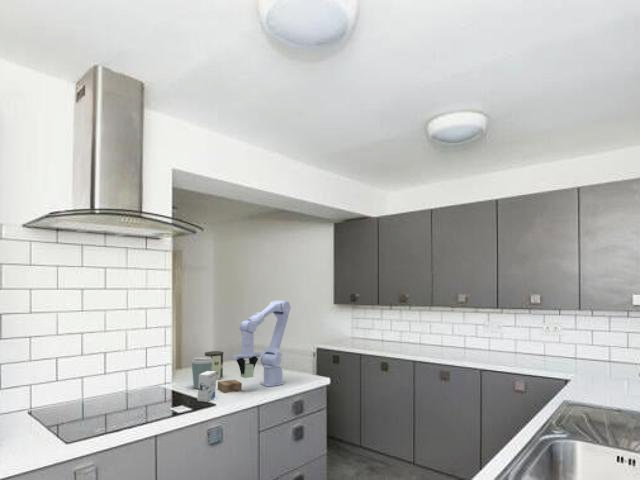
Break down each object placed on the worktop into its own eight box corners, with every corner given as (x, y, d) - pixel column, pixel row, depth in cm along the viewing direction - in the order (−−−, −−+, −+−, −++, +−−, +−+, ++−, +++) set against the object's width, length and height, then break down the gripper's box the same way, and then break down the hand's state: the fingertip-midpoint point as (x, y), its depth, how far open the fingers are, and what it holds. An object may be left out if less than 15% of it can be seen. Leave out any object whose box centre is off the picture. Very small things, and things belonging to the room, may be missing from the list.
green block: (248, 375, 212) (248, 362, 213) (253, 376, 209) (253, 364, 210) (240, 376, 209) (240, 363, 210) (245, 378, 206) (245, 365, 207)
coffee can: (213, 375, 243) (214, 350, 245) (226, 377, 238) (227, 352, 239) (199, 379, 235) (200, 352, 236) (212, 381, 229) (213, 354, 231)
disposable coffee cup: (196, 384, 221) (197, 355, 223) (215, 385, 219) (216, 355, 221) (186, 389, 211) (187, 358, 213) (206, 390, 209) (207, 359, 210)
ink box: (206, 396, 198) (206, 370, 200) (216, 397, 197) (216, 371, 199) (197, 401, 190) (198, 374, 191) (207, 401, 189) (208, 374, 190)
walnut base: (234, 387, 217) (234, 379, 217) (241, 391, 209) (241, 383, 210) (217, 389, 212) (217, 381, 212) (223, 393, 204) (224, 385, 205)
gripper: (238, 347, 203) (237, 376, 202) (264, 344, 212) (263, 372, 211) (231, 345, 209) (230, 374, 207) (256, 343, 218) (256, 370, 216)
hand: (246, 373), depth 209 cm, fingers closed on green block, 4 cm apart
